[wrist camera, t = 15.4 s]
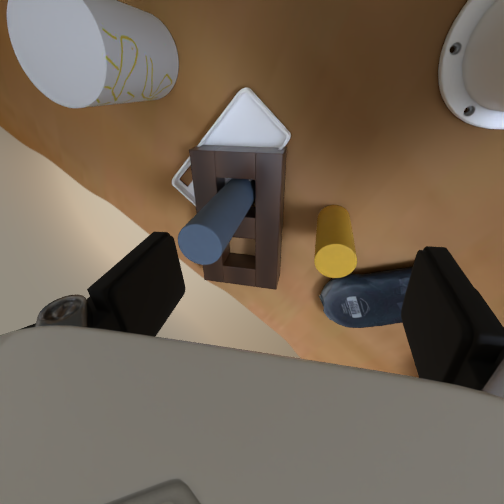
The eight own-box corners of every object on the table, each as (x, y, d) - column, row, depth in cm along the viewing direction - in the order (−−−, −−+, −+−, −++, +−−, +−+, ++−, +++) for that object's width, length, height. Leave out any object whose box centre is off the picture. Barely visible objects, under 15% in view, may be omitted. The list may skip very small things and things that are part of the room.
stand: (286, 147, 32) (283, 153, 29) (279, 275, 42) (276, 289, 39) (200, 143, 34) (188, 149, 31) (212, 266, 44) (204, 279, 41)
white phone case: (214, 217, 39) (293, 136, 31) (211, 221, 38) (292, 138, 30) (173, 179, 37) (246, 84, 30) (169, 182, 36) (243, 84, 29)
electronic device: (423, 245, 36) (311, 278, 40) (445, 272, 31) (317, 307, 35) (429, 294, 41) (328, 319, 45) (449, 323, 36) (335, 349, 40)
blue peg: (258, 174, 35) (220, 226, 22) (258, 204, 37) (223, 267, 24) (227, 172, 35) (174, 222, 23) (229, 202, 38) (181, 262, 25)
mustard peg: (352, 206, 34) (360, 246, 26) (346, 235, 36) (352, 280, 28) (319, 203, 35) (316, 241, 27) (315, 231, 37) (312, 275, 29)
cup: (149, 115, 34) (75, 129, 24) (98, 52, 32) (-8, 39, 22) (193, 64, 30) (126, 56, 20) (138, -12, 28) (32, -64, 18)
